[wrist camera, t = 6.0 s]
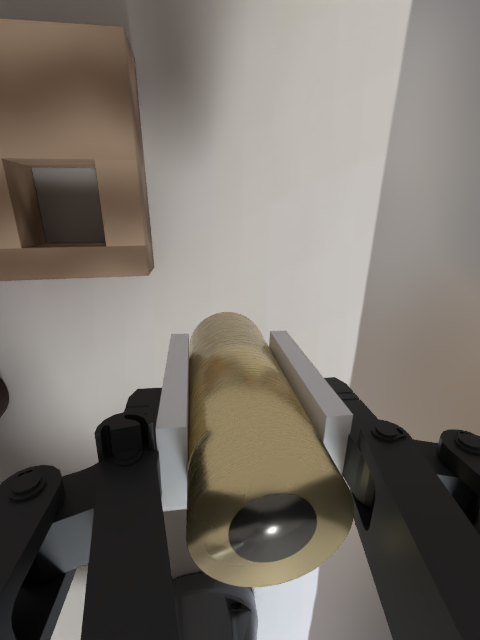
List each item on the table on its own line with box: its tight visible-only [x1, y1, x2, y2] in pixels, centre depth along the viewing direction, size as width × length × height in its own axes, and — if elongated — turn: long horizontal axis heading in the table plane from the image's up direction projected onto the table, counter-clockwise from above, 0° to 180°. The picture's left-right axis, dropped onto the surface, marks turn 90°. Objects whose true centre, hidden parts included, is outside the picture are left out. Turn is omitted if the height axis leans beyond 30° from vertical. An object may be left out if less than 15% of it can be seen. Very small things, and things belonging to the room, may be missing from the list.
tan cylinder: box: [186, 312, 354, 587], centre depth 12 cm, size 4×4×10 cm
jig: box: [0, 18, 154, 281], centre depth 22 cm, size 15×15×4 cm
